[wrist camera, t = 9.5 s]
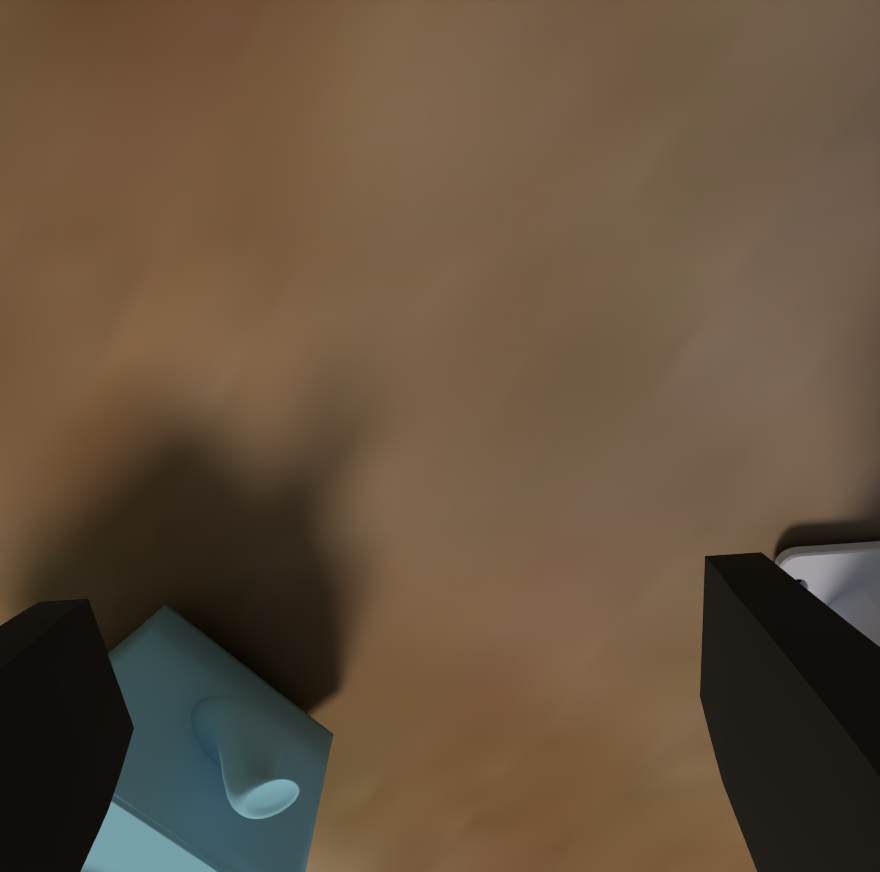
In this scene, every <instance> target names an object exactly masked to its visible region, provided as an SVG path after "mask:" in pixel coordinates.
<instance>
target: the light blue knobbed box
mask: <svg viewBox="0 0 880 872" xmlns="http://www.w3.org/2000/svg"><path fill="white" fill-rule="evenodd" d="M108 656H109V659H110V662H111V664H112V667H113V670H114V673H115V676H116V678H117V681H118V684H119V687H120V690H121V692H122V695H123V698H124V701H125V704H126V706H127V709H128V712H129V715H130V718H131V720H132V723H133V726H134V730H133V734H132V737H131V740H130V744H129V747H128V750H127V754H126V757H125V761H124V764H123V767H122V771H121V774H120V777H119V780H118V783H117V786H116V789H115V792H114V795H113V798H112V801H111V804H110V807H109V810H108V812H107V814H106V817H105V819H104V821H103V823H102V826H101V828H100V830H99V832H98V835H97V837H96V839H95V841H94V843H93V846H92V848H91V850H90V852H89V854H88V856H87V859H86V861H85V863H84V865H83V867H82V870H81V872H305V871H306V866H307V861H308V856H309V851H310V846H311V841H312V836H313V831H314V826H315V821H316V816H317V812H318V807H319V802H320V797H321V792H322V787H323V782H324V777H325V772H326V767H327V762H328V757H329V752H330V747H331V743H332V738H333V734H332V733H331V732H330V731H328V730H327V729H326V728H325V727H323V726H322V725H321V724H319V723H318V722H317V721H316V720H314V719H313V718H312V717H311V716H309V715H308V714H307V713H305V712H304V711H303V710H302V709H300V708H299V707H298V706H296V705H295V704H294V703H293V702H291V701H290V700H289V699H287V698H286V697H285V696H284V695H282V694H281V693H280V692H278V691H277V690H276V689H275V688H273V687H272V686H271V685H270V684H268V683H267V682H266V681H264V680H263V679H262V678H261V677H259V676H258V675H257V674H256V673H254V672H253V671H252V670H250V669H249V668H248V667H247V666H245V665H244V664H243V663H241V662H240V661H239V660H238V659H236V658H235V657H234V656H232V655H231V654H230V653H229V652H227V651H226V650H225V649H223V648H222V647H221V646H220V645H218V644H217V643H216V642H214V641H213V640H212V639H211V638H209V637H208V636H207V635H206V634H204V633H203V632H202V631H200V630H199V629H198V628H197V627H195V626H194V625H193V624H192V623H190V622H189V621H188V620H186V619H185V618H184V617H183V616H181V615H180V614H179V613H177V612H176V611H175V610H174V609H172V608H171V607H170V606H168V605H167V604H165V605H164V606H163V607H161V608H160V609H159V610H158V611H157V612H155V613H154V614H153V615H152V616H151V617H150V618H148V619H147V620H146V621H145V622H144V623H143V624H141V625H140V626H139V627H138V628H137V629H136V630H135V631H133V632H132V633H131V634H130V635H129V636H128V637H126V638H125V639H124V640H123V641H122V642H121V643H119V644H118V645H117V646H116V647H115V648H114V649H112V650H111V651H110V652H109V653H108Z"/></svg>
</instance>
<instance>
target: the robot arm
mask: <svg viewBox="0 0 880 872" xmlns="http://www.w3.org/2000/svg"><path fill="white" fill-rule="evenodd" d="M796 579H802V581H801V582H800V583H799V582H798V581H796ZM700 698H701V702H702V706H703V710H704V714H705V718H706V722H707V725H708V729H709V733H710V737H711V741H712V745H713V749H714V752H715V756H716V760H717V763H718V767H719V771H720V774H721V778H722V781H723V784H724V787H725V789H726V792H727V795H728V797H729V800H730V803H731V805H732V808H733V810H734V813H735V815H736V818H737V821H738V823H739V826H740V828H741V831H742V833H743V836H744V839H745V841H746V844H747V846H748V849H749V851H750V854H751V857H752V859H753V862H754V864H755V867H756V869H757V872H880V541H874V542H860V543H845V544H831V545H817V546H802V547H793V548H789V549H786V550H785V551H783V552H781V553H780V554H779V556H778V557H777V558H776V560H775V563H774V562H773V561H772V560H770V559H769V558H768V557H766V556H765V555H764V554H763V553H761V552H760V553H745V554H731V555H716V556H705V576H704V603H703V631H702V658H701V686H700ZM133 730H134V726H133V723H132V720H131V718H130V715H129V712H128V709H127V706H126V704H125V701H124V698H123V695H122V692H121V690H120V687H119V684H118V681H117V678H116V676H115V673H114V670H113V667H112V664H111V662H110V659H109V656H108V653H107V650H106V648H105V645H104V642H103V639H102V636H101V634H100V631H99V628H98V625H97V622H96V620H95V617H94V614H93V611H92V608H91V606H90V603H89V600H88V599H77V600H63V601H48V602H39V603H37V604H35V605H34V606H32V607H30V608H28V609H27V610H25V611H23V612H21V613H20V614H18V615H17V616H15V617H13V618H12V619H10V620H9V621H7V622H6V623H4V624H2V625H1V626H0V872H81V870H82V867H83V865H84V863H85V861H86V859H87V856H88V854H89V852H90V850H91V848H92V846H93V843H94V841H95V839H96V837H97V835H98V832H99V830H100V828H101V826H102V823H103V821H104V819H105V817H106V814H107V812H108V810H109V807H110V804H111V801H112V798H113V795H114V792H115V789H116V786H117V783H118V780H119V777H120V774H121V771H122V767H123V764H124V761H125V757H126V754H127V750H128V747H129V744H130V740H131V737H132V734H133Z"/></svg>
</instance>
